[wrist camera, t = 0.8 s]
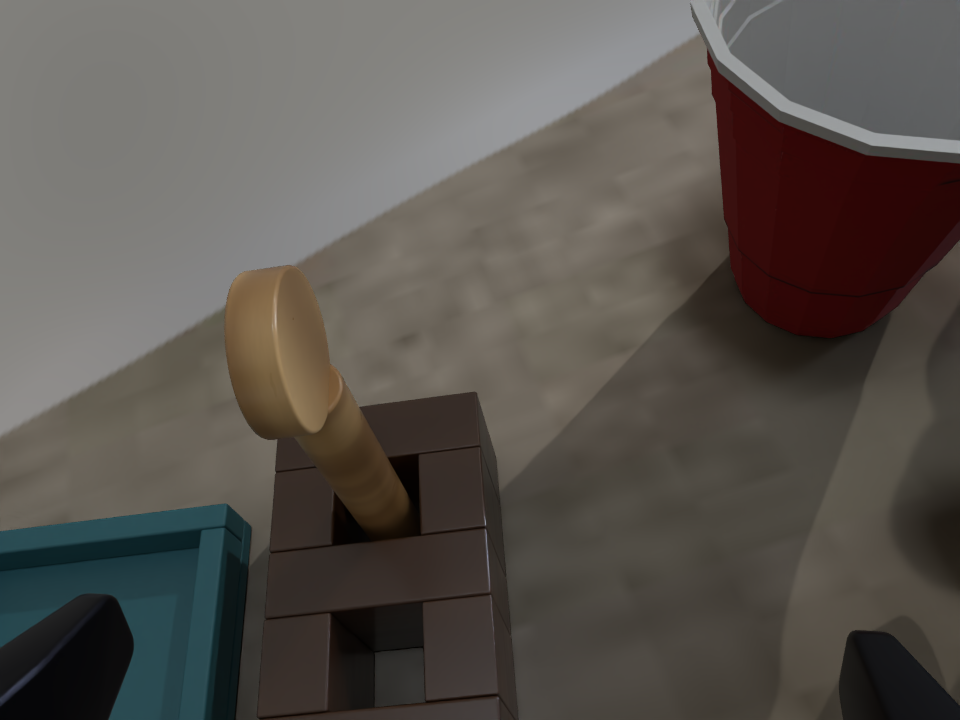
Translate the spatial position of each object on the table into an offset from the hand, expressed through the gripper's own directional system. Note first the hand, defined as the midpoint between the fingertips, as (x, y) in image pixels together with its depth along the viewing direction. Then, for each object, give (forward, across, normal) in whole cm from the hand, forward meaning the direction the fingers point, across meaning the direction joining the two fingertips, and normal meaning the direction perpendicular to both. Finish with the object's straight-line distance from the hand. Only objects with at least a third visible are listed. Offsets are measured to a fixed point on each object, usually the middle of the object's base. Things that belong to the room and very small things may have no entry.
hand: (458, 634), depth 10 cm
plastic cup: (+22, -9, +5) cm, 24 cm away
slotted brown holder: (+11, +4, +11) cm, 16 cm away
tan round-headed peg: (+12, +5, +10) cm, 17 cm away
